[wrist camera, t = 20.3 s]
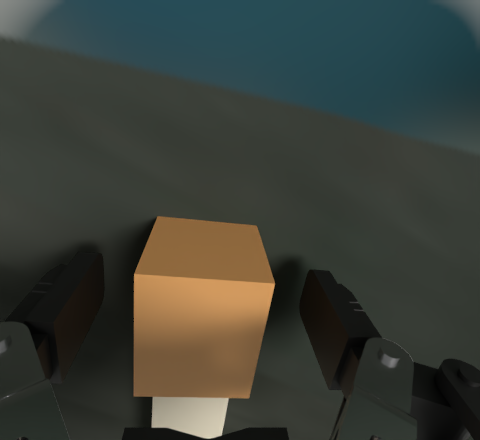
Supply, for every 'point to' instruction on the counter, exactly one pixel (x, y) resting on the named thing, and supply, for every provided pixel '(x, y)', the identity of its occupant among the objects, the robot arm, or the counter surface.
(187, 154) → the counter surface
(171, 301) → the plug rod
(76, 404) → the counter surface
